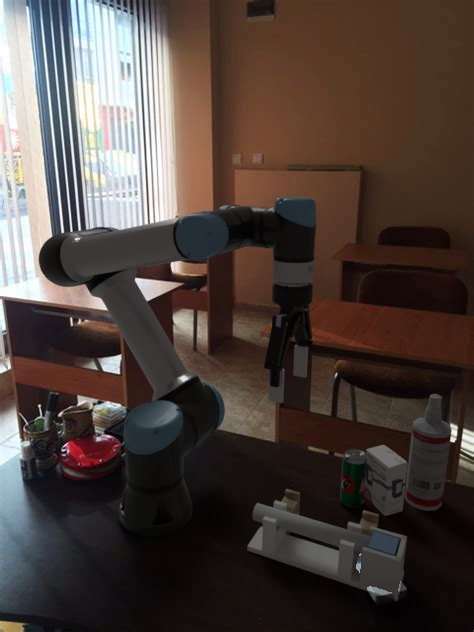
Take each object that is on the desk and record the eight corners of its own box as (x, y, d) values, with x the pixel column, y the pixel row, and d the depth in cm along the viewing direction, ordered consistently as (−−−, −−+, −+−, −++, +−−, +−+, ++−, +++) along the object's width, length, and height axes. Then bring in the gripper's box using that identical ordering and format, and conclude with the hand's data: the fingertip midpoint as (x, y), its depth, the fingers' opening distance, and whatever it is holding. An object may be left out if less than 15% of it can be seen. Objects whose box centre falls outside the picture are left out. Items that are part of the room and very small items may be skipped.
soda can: (363, 511, 115) (367, 461, 111) (339, 508, 116) (342, 458, 112) (362, 497, 119) (367, 449, 116) (339, 494, 120) (343, 446, 117)
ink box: (360, 494, 120) (364, 447, 117) (379, 489, 122) (383, 443, 119) (384, 517, 113) (390, 467, 110) (403, 511, 115) (409, 462, 112)
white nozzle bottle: (443, 513, 114) (458, 405, 107) (407, 508, 116) (419, 402, 109) (437, 491, 122) (450, 389, 115) (403, 487, 123) (414, 387, 116)
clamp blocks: (275, 530, 109) (276, 503, 107) (285, 514, 113) (286, 488, 112) (370, 559, 101) (372, 531, 99) (376, 541, 106) (378, 514, 104)
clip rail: (246, 551, 103) (247, 514, 100) (260, 529, 108) (261, 494, 106) (397, 602, 91) (401, 561, 89) (403, 575, 97) (408, 536, 95)
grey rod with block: (251, 525, 102) (251, 510, 101) (260, 512, 106) (260, 498, 105) (392, 570, 91) (394, 554, 90) (397, 553, 95) (398, 538, 94)
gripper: (288, 299, 87) (284, 417, 93) (331, 272, 109) (325, 369, 115) (246, 294, 91) (244, 409, 96) (296, 268, 112) (292, 364, 118)
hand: (288, 388), depth 106 cm, fingers open, 13 cm apart
